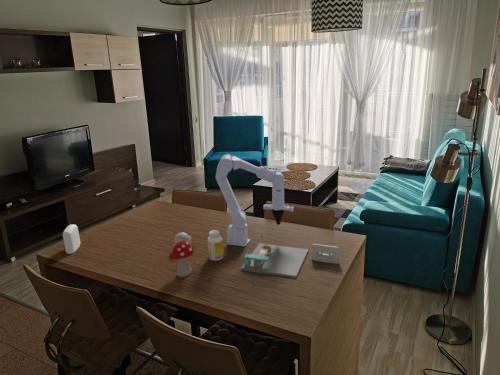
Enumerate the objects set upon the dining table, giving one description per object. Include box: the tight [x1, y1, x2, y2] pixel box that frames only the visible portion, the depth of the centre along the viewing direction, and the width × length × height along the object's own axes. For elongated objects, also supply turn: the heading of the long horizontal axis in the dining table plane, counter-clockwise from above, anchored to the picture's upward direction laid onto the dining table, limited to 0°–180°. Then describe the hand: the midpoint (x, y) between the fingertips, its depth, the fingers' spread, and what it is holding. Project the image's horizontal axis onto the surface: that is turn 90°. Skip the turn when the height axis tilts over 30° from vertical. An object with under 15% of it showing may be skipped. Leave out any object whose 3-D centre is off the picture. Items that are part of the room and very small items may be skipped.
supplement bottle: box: [207, 229, 224, 262], centre depth 176 cm, size 7×7×13 cm
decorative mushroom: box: [170, 241, 195, 278], centre depth 162 cm, size 10×9×15 cm
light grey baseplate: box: [240, 243, 309, 279], centre depth 173 cm, size 24×25×1 cm
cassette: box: [311, 243, 341, 265], centre depth 170 cm, size 12×2×8 cm, turn 69°
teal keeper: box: [243, 253, 270, 265], centre depth 167 cm, size 10×3×5 cm, turn 70°
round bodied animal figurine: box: [172, 231, 193, 249], centre depth 188 cm, size 7×12×8 cm, turn 154°
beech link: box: [253, 244, 271, 267], centre depth 173 cm, size 17×4×3 cm, turn 162°
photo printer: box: [62, 224, 82, 255], centre depth 190 cm, size 10×4×12 cm, turn 2°
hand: (278, 224), depth 189 cm, fingers closed
